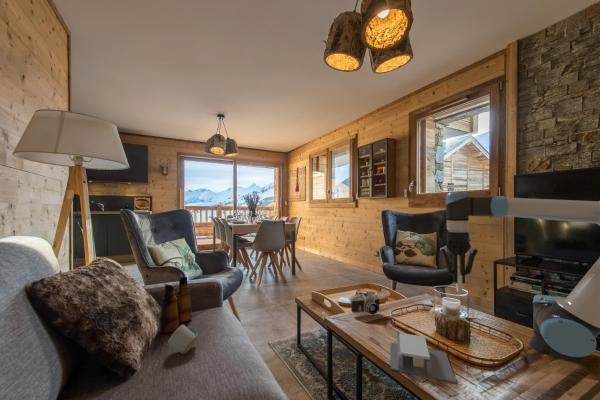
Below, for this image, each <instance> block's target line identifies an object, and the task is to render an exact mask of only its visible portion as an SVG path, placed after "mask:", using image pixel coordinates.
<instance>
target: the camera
mask: <svg viewBox="0 0 600 400" xmlns="http://www.w3.org/2000/svg"><path fill="white" fill-rule="evenodd" d="M350 303H351V313H352V314H361V313H364V314H365V313H368V314H369V315H375V314H377V312H379V311H380V296H379V295H378V294H377V293H374V294H371V293H370V292H364V293H362V294H356V295H352V296H351V302H350Z"/></svg>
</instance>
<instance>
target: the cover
mask: <svg viewBox="0 0 600 400" xmlns="http://www.w3.org/2000/svg"><path fill="white" fill-rule="evenodd" d="M399 338H400V352H401V355H405V356H411V357H417V358H422V359H428V360H430V356H429V352H428V349H429V348H428V346H427V339H426V336H423V335H415V334H409V333H403V332H400V333H399ZM425 339H426V340H425Z"/></svg>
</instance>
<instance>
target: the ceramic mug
mask: <svg viewBox="0 0 600 400" xmlns="http://www.w3.org/2000/svg"><path fill="white" fill-rule="evenodd" d="M197 337H198V330H197V329H196V328H194V327H193V326H186V325H185V324H181V325H179V328H178V329H176V330H174V331H173V333H172V335H171V336H170V337H169V338H168V340H167V343H168V344H169V345H170V346H171V347H172V348H174V349H175V350H177V351H178V352H179V353H180V354H183V355H186V354H187V353H188V352H189V351H190V350H191V349H192V347H193V346H194V345H195V343H196V342H197V340H198V339H197Z"/></svg>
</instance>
